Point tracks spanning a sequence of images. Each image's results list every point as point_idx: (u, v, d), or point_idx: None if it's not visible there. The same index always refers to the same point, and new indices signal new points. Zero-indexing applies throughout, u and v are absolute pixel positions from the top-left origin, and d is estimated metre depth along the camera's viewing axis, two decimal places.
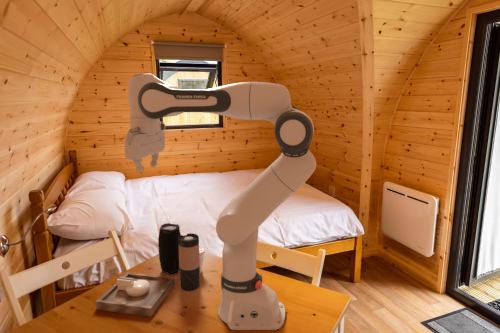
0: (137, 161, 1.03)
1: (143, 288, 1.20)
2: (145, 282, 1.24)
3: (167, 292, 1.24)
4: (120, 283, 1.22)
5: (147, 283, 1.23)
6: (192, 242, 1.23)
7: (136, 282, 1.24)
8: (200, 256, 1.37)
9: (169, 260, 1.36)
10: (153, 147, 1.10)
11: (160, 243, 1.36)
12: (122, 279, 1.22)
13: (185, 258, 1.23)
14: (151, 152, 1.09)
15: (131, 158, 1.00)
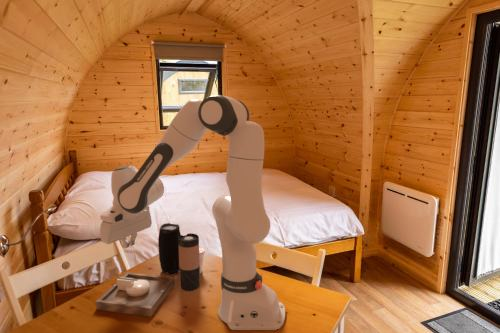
0: None
1: (143, 288, 1.20)
2: (145, 282, 1.24)
3: (167, 292, 1.24)
4: (120, 283, 1.22)
5: (147, 283, 1.23)
6: (192, 242, 1.23)
7: (136, 282, 1.24)
8: (200, 256, 1.37)
9: (169, 260, 1.36)
10: None
11: (160, 243, 1.36)
12: (122, 279, 1.22)
13: (185, 258, 1.23)
14: None
15: None
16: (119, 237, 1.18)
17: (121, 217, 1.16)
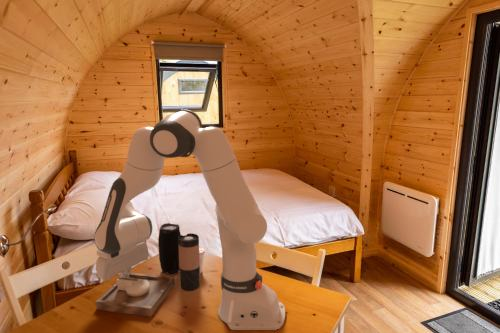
0: None
1: (143, 288, 1.20)
2: (145, 282, 1.24)
3: (167, 292, 1.24)
4: (120, 283, 1.22)
5: (147, 283, 1.23)
6: (192, 242, 1.23)
7: (136, 282, 1.24)
8: (200, 256, 1.37)
9: (169, 260, 1.36)
10: None
11: (160, 243, 1.36)
12: (122, 279, 1.22)
13: (185, 258, 1.23)
14: None
15: None
16: (115, 272, 1.18)
17: (117, 253, 1.16)
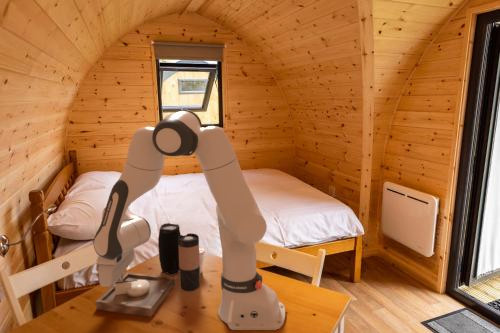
0: None
1: (146, 286, 1.21)
2: (143, 281, 1.25)
3: (167, 292, 1.24)
4: (119, 287, 1.19)
5: (145, 281, 1.24)
6: (192, 242, 1.23)
7: (133, 283, 1.23)
8: (200, 256, 1.37)
9: (169, 260, 1.36)
10: None
11: (160, 243, 1.36)
12: (119, 283, 1.20)
13: (185, 258, 1.23)
14: None
15: None
16: (117, 277, 1.15)
17: (120, 257, 1.14)
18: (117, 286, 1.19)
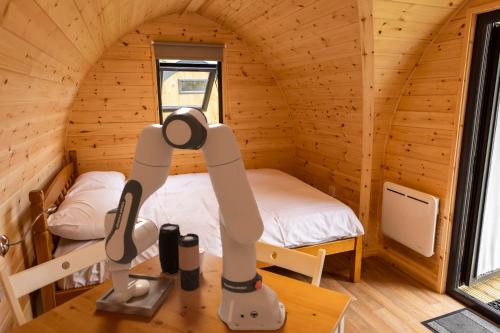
0: None
1: (146, 282, 1.24)
2: (135, 281, 1.24)
3: (167, 292, 1.24)
4: (127, 293, 1.16)
5: (138, 280, 1.25)
6: (192, 242, 1.23)
7: None
8: (200, 256, 1.37)
9: (169, 260, 1.36)
10: None
11: (160, 243, 1.36)
12: None
13: (185, 258, 1.23)
14: None
15: None
16: None
17: None
18: (126, 292, 1.15)
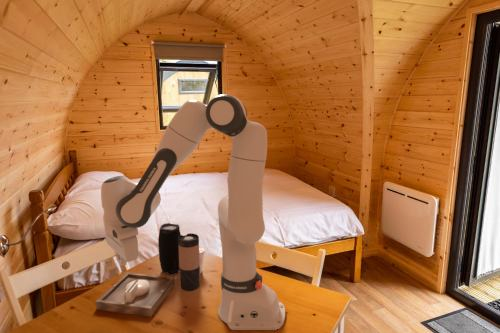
0: None
1: (144, 281, 1.25)
2: (133, 282, 1.24)
3: (167, 292, 1.24)
4: (132, 293, 1.16)
5: (136, 281, 1.25)
6: (192, 242, 1.23)
7: None
8: (200, 256, 1.37)
9: (169, 260, 1.36)
10: (116, 247, 1.10)
11: (160, 243, 1.36)
12: (130, 289, 1.16)
13: (185, 258, 1.23)
14: (115, 250, 1.12)
15: None
16: None
17: None
18: (131, 293, 1.15)
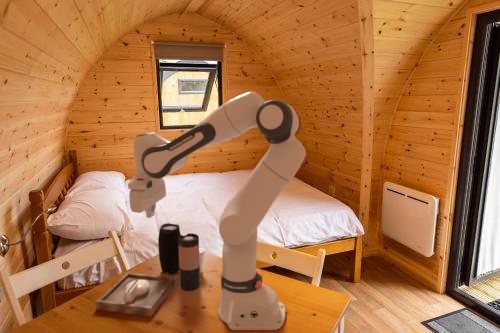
0: None
1: (144, 281, 1.25)
2: (133, 282, 1.24)
3: (167, 292, 1.24)
4: (132, 293, 1.16)
5: (136, 281, 1.25)
6: (192, 242, 1.23)
7: None
8: (200, 256, 1.37)
9: (169, 260, 1.36)
10: None
11: (160, 243, 1.36)
12: (130, 289, 1.16)
13: (185, 258, 1.23)
14: None
15: None
16: (147, 205, 1.15)
17: (151, 184, 1.13)
18: (131, 293, 1.15)
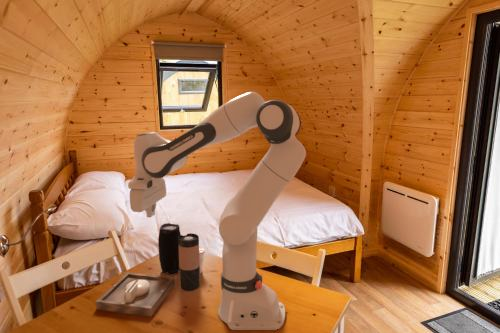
0: None
1: (144, 281, 1.25)
2: (133, 282, 1.24)
3: (167, 292, 1.24)
4: (132, 293, 1.16)
5: (136, 281, 1.25)
6: (192, 242, 1.23)
7: None
8: (200, 256, 1.37)
9: (169, 260, 1.36)
10: None
11: (160, 243, 1.36)
12: (130, 289, 1.16)
13: (185, 258, 1.23)
14: None
15: None
16: (147, 205, 1.15)
17: (151, 183, 1.13)
18: (131, 293, 1.15)
